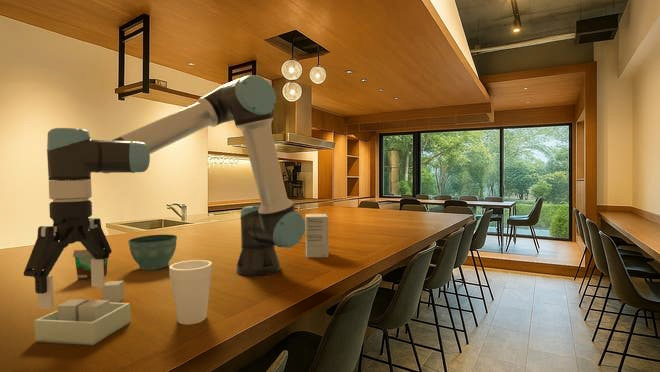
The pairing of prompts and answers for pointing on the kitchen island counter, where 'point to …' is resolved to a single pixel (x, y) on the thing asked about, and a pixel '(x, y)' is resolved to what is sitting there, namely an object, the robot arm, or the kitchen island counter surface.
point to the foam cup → (191, 289)
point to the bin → (81, 327)
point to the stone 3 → (113, 291)
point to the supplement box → (316, 235)
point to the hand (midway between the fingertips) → (74, 296)
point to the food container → (85, 264)
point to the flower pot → (153, 250)
